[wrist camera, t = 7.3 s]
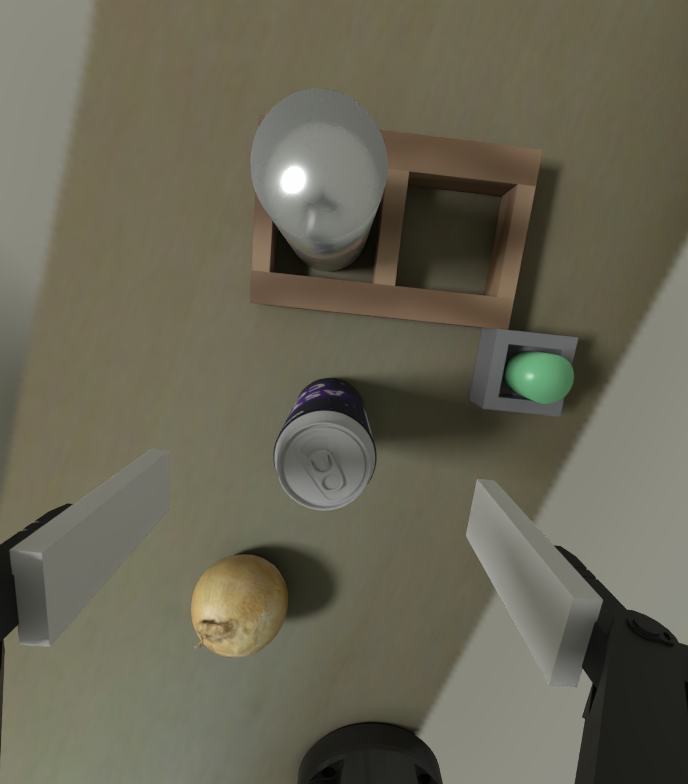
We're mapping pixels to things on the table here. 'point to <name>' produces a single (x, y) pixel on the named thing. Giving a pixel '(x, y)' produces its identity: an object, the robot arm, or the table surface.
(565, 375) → the button
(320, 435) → the beverage can
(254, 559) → the onion
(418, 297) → the glass rack
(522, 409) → the button housing
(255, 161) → the frosted drinking glass
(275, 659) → the table surface
